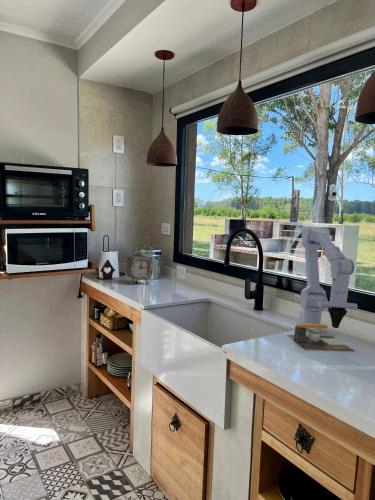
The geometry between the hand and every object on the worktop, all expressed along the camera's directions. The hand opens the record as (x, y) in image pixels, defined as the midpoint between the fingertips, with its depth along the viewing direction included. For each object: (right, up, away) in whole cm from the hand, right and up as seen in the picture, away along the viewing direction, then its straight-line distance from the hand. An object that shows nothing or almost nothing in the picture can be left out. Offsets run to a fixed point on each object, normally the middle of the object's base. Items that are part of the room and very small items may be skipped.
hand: (335, 327), depth 136 cm
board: (-6, -7, 0) cm, 9 cm away
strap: (-9, 0, -1) cm, 9 cm away
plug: (-8, -5, -1) cm, 10 cm away
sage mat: (0, -6, +2) cm, 6 cm away
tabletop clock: (-86, +8, +91) cm, 125 cm away
